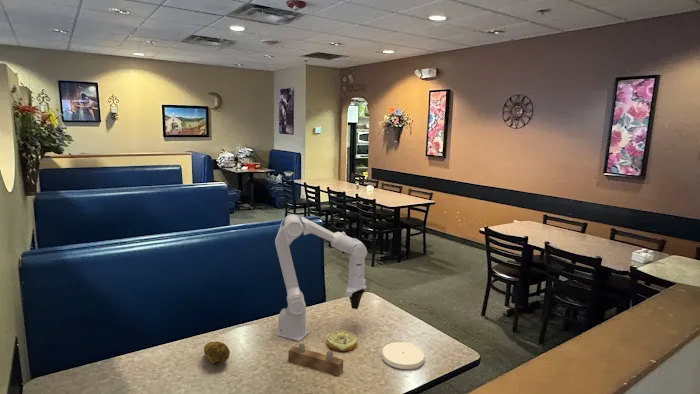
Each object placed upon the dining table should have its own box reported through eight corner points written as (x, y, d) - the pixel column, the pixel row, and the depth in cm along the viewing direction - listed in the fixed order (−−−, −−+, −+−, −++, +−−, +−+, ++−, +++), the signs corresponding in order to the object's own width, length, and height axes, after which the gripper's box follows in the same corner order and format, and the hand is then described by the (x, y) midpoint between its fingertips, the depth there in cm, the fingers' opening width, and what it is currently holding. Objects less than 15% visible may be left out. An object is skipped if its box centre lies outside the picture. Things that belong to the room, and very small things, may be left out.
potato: (231, 350, 140) (231, 328, 139) (229, 372, 128) (228, 348, 127) (205, 352, 138) (204, 330, 137) (200, 375, 126) (199, 350, 125)
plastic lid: (413, 347, 148) (413, 340, 148) (431, 369, 135) (431, 362, 134) (376, 351, 144) (376, 344, 144) (390, 374, 131) (391, 367, 131)
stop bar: (288, 361, 135) (288, 344, 134) (293, 357, 138) (293, 340, 137) (338, 376, 128) (339, 358, 127) (342, 371, 131) (343, 353, 130)
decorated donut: (345, 357, 140) (345, 346, 139) (320, 346, 146) (320, 336, 145) (362, 344, 148) (362, 334, 147) (337, 334, 154) (338, 325, 153)
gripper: (359, 281, 145) (357, 318, 148) (373, 269, 159) (371, 303, 161) (340, 278, 148) (339, 314, 150) (356, 266, 161) (354, 299, 164)
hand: (355, 308), depth 156 cm, fingers closed
